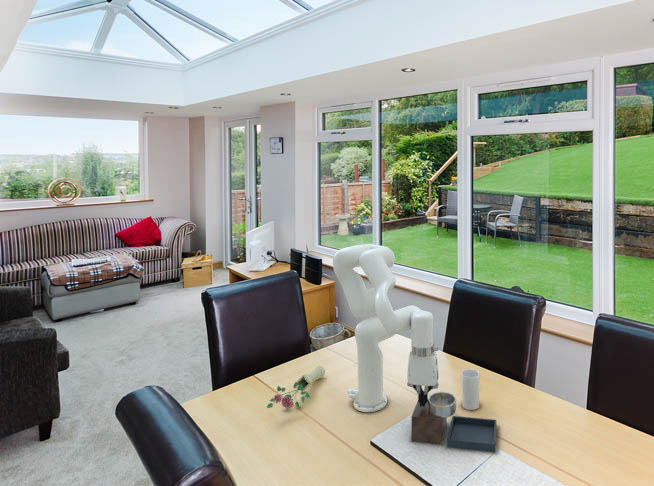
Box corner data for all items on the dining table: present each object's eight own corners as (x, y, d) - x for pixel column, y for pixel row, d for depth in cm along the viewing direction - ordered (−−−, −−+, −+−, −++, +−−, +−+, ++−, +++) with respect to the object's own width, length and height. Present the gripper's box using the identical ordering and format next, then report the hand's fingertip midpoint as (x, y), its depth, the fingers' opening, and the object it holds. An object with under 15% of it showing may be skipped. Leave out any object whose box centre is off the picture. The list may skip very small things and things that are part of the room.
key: (435, 407, 143) (435, 405, 143) (436, 403, 145) (436, 402, 145) (449, 408, 142) (449, 407, 142) (450, 405, 144) (450, 403, 144)
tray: (447, 447, 136) (447, 439, 136) (452, 422, 149) (452, 415, 149) (495, 452, 133) (495, 444, 133) (496, 427, 146) (496, 419, 146)
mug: (477, 412, 155) (476, 378, 155) (459, 408, 157) (459, 375, 158) (483, 398, 164) (483, 366, 165) (467, 395, 167) (466, 364, 167)
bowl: (425, 416, 139) (425, 405, 139) (431, 401, 148) (431, 390, 148) (453, 419, 137) (453, 408, 137) (457, 403, 146) (457, 393, 146)
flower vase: (325, 398, 179) (291, 428, 145) (299, 387, 181) (259, 415, 147) (335, 369, 182) (304, 392, 148) (309, 359, 183) (273, 379, 150)
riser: (411, 441, 139) (411, 416, 139) (418, 421, 149) (418, 398, 150) (441, 444, 137) (441, 419, 137) (446, 424, 148) (446, 400, 148)
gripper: (445, 346, 147) (446, 400, 146) (403, 343, 149) (404, 396, 149) (442, 355, 139) (443, 412, 139) (398, 352, 142) (398, 408, 141)
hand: (423, 404), depth 144 cm, fingers closed
